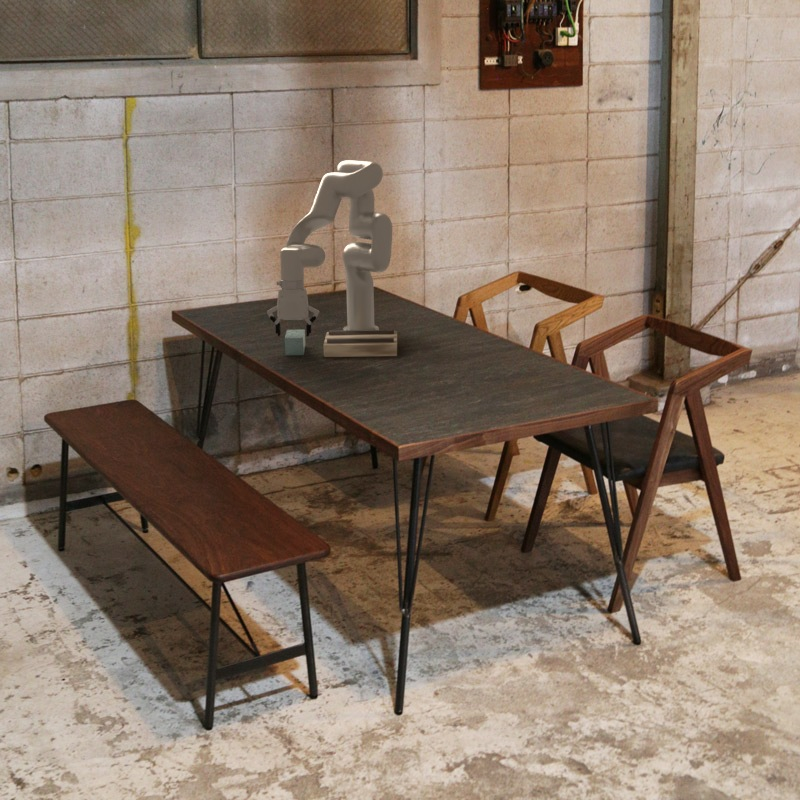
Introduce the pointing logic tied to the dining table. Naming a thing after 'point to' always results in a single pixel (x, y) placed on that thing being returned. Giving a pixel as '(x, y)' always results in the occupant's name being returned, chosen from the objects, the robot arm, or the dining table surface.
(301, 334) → the housing
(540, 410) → the dining table surface
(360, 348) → the stand
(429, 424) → the dining table surface
